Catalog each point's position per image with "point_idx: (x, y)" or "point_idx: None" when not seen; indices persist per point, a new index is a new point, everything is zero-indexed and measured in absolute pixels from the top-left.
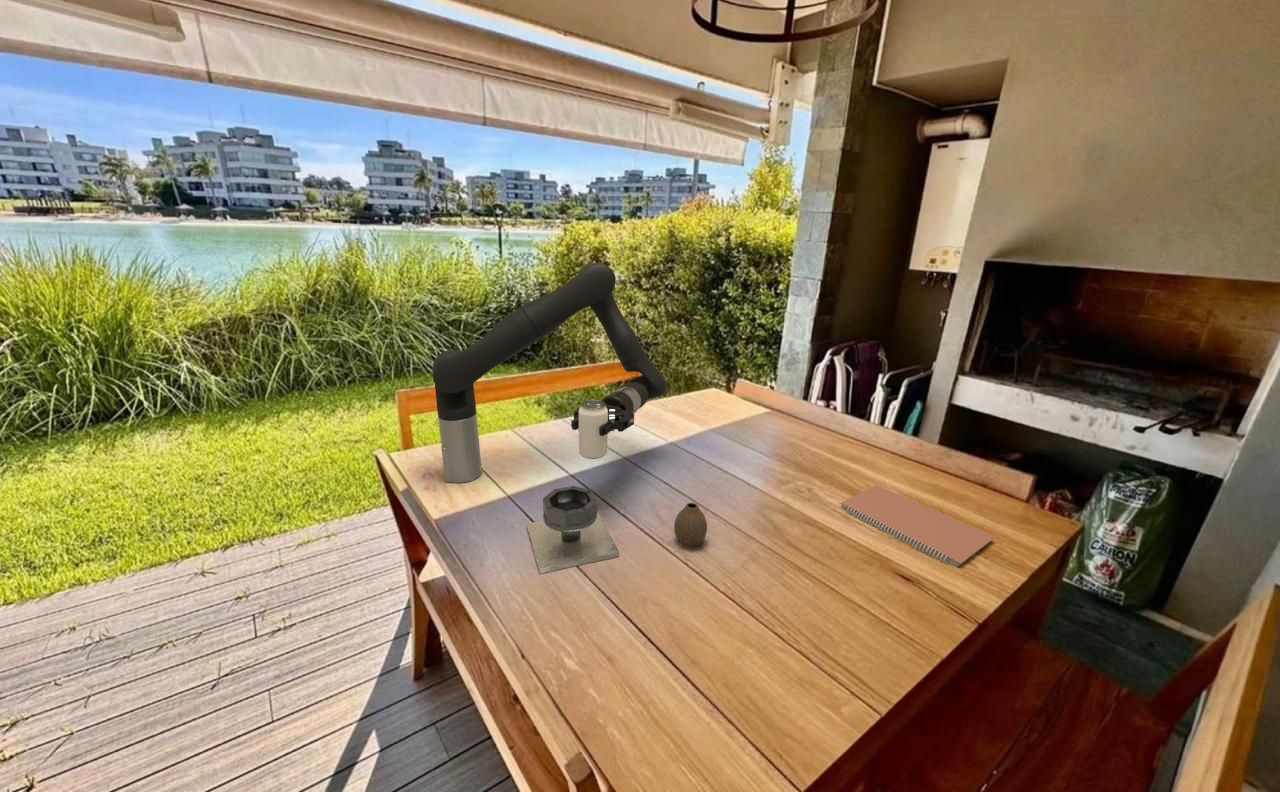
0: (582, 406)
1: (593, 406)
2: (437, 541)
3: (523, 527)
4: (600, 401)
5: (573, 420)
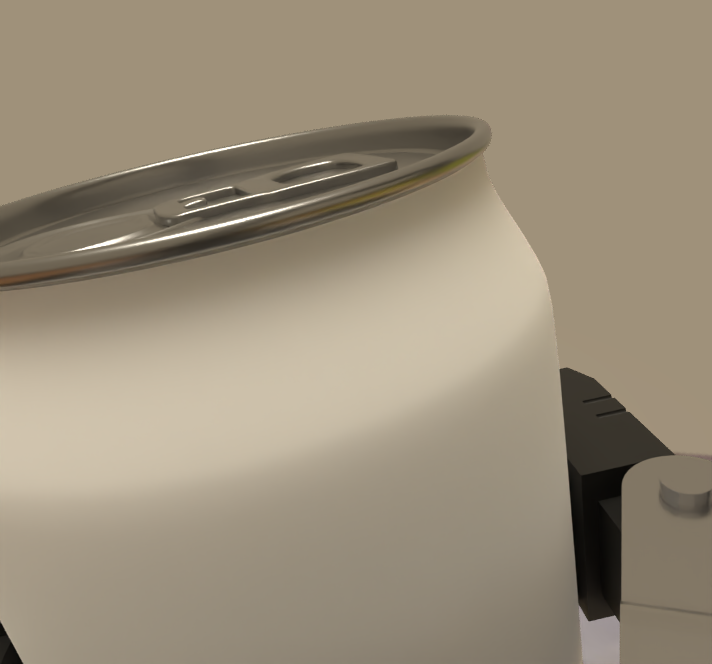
0: (320, 129)
1: (188, 203)
2: (707, 456)
3: (600, 658)
4: (111, 266)
5: None
